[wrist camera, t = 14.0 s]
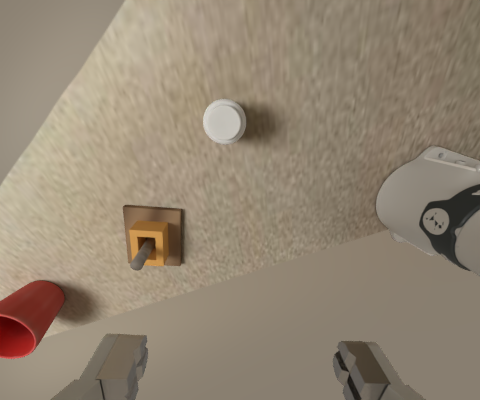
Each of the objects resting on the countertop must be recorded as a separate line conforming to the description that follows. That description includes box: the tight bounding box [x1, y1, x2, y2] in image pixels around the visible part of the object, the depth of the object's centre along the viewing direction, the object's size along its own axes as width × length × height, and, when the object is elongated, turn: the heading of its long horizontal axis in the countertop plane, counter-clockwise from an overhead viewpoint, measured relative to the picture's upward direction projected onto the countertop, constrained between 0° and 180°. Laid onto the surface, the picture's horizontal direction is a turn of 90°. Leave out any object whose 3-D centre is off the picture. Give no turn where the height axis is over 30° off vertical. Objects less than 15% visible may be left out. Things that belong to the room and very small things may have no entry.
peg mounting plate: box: [123, 205, 181, 270], centre depth 38 cm, size 10×12×9 cm
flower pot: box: [0, 281, 65, 359], centre depth 42 cm, size 11×11×10 cm
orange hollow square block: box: [129, 220, 169, 266], centre depth 40 cm, size 5×7×4 cm
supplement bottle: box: [203, 99, 246, 145], centre depth 31 cm, size 6×6×10 cm
